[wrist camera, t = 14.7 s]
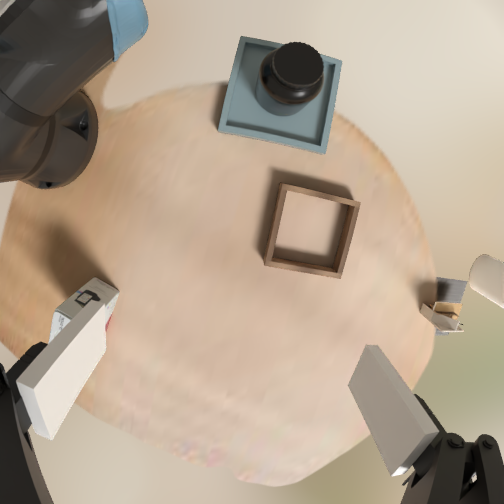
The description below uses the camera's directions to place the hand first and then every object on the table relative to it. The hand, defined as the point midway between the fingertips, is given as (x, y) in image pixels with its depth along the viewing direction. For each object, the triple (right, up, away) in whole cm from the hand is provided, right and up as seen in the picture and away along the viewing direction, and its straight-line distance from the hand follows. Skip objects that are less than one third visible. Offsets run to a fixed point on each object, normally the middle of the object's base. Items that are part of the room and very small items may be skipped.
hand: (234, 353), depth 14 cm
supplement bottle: (+4, +25, +21) cm, 33 cm away
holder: (+9, +8, +26) cm, 28 cm away
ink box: (-23, -3, +28) cm, 36 cm away
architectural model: (+32, -5, +31) cm, 45 cm away
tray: (+5, +25, +21) cm, 33 cm away
